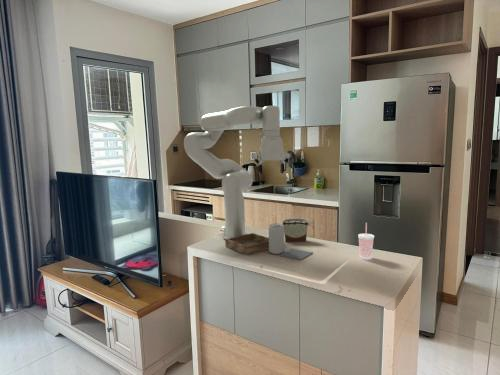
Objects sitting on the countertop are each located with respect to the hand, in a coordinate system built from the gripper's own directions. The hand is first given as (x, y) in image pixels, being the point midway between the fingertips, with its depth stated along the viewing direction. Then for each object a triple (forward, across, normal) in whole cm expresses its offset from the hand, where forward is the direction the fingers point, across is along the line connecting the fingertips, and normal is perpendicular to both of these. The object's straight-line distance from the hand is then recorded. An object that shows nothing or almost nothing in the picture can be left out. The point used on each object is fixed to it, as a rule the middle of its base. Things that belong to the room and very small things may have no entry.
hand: (271, 173), depth 159 cm
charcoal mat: (+32, +6, -18) cm, 37 cm away
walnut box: (+32, -11, -4) cm, 34 cm away
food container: (+32, +12, +1) cm, 34 cm away
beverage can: (+32, -1, -14) cm, 35 cm away
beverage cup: (+32, +31, -28) cm, 53 cm away
